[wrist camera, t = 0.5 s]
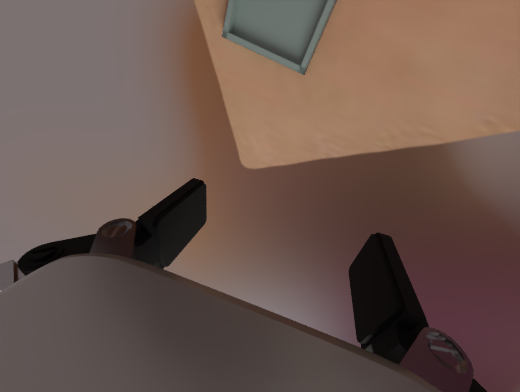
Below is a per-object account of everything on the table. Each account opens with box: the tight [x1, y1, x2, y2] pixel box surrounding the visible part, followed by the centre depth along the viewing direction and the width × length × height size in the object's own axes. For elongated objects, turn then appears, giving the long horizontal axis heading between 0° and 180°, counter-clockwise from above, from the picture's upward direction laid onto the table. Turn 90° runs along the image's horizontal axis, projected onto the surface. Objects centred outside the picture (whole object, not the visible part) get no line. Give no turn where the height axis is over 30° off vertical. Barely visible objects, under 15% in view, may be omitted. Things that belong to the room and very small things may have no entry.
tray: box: [222, 0, 337, 75], centre depth 27 cm, size 12×14×2 cm
